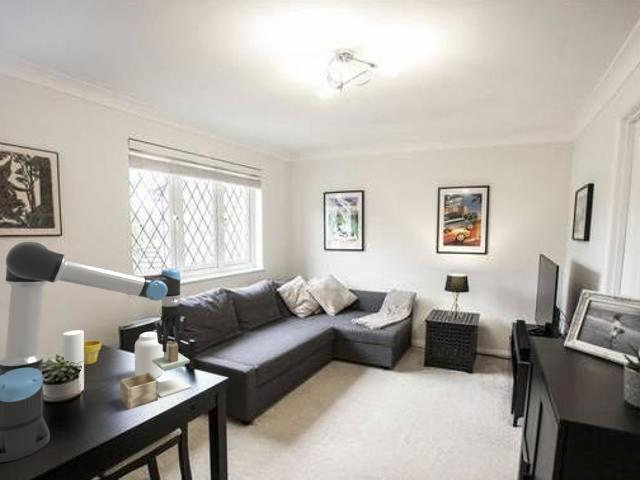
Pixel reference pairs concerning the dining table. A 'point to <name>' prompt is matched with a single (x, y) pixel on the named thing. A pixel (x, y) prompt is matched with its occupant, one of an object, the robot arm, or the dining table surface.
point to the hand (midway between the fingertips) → (170, 357)
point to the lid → (171, 358)
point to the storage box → (138, 390)
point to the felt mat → (172, 387)
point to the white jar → (148, 354)
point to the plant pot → (91, 351)
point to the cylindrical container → (74, 350)
